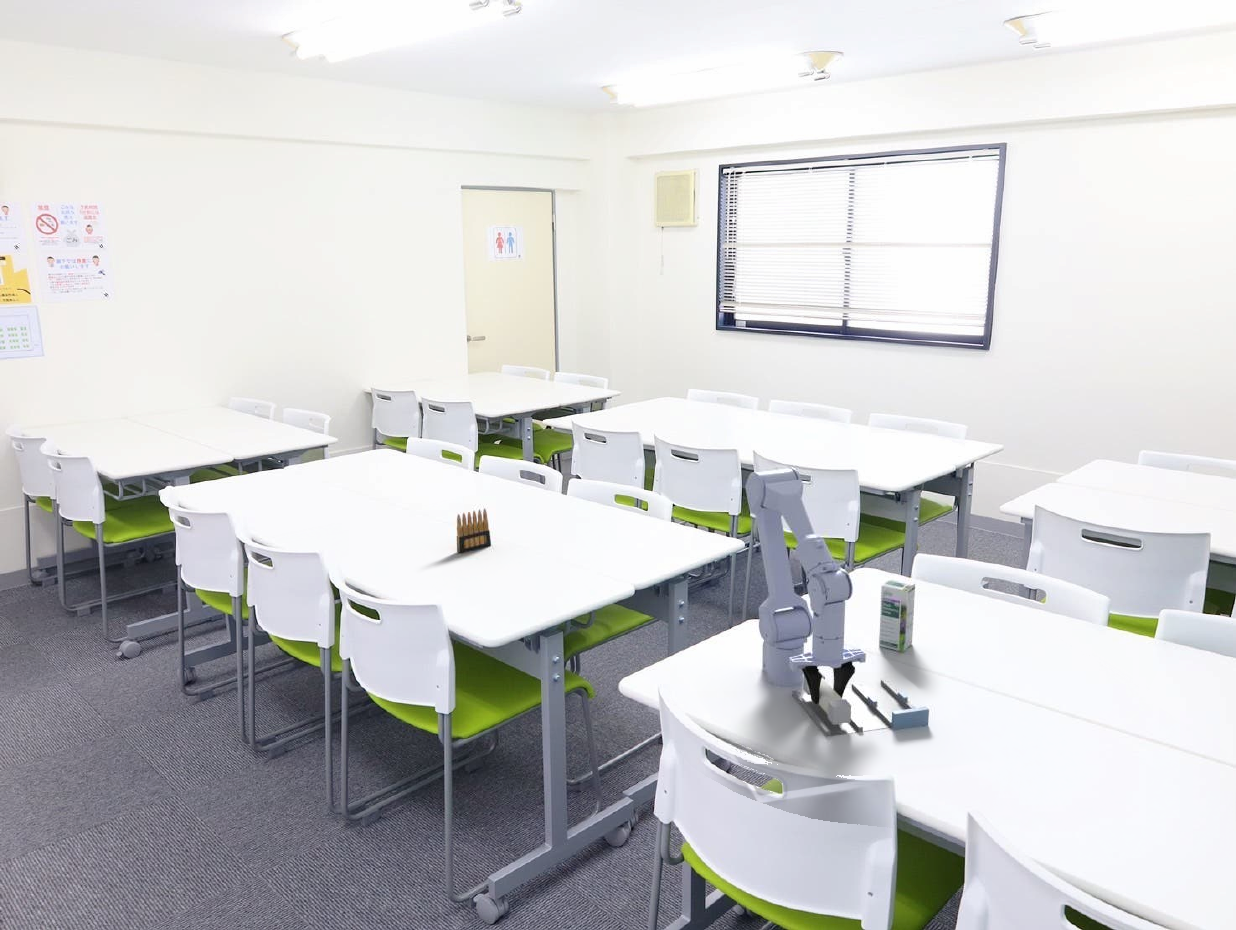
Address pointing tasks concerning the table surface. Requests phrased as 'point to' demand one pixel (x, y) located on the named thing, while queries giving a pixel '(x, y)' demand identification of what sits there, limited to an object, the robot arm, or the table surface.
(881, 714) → the lane divider tray
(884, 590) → the syrup box
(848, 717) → the white rounded long block
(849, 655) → the robot arm
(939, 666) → the table surface
